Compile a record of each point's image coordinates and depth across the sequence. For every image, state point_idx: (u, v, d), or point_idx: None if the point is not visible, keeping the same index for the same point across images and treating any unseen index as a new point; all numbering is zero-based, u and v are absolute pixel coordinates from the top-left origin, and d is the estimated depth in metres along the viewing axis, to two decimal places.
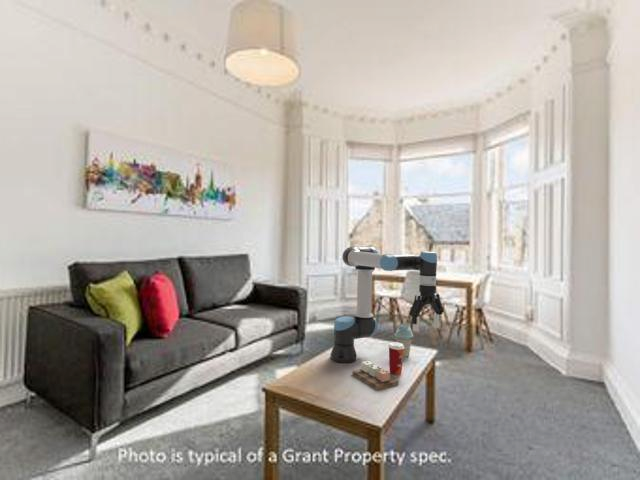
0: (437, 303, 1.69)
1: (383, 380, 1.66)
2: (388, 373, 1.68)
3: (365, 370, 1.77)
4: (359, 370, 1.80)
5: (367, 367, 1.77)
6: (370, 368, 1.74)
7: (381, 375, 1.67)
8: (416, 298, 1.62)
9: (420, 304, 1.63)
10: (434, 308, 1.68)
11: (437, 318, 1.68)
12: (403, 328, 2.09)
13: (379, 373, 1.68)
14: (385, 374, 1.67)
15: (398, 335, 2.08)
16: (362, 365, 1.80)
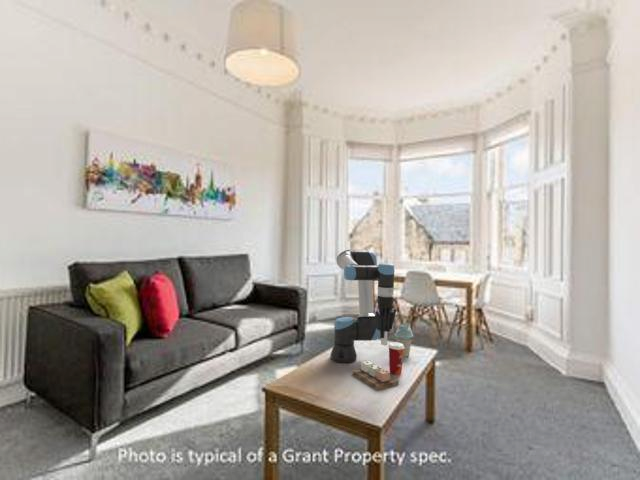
0: (390, 318, 1.70)
1: (383, 380, 1.66)
2: (388, 373, 1.68)
3: (365, 370, 1.77)
4: (359, 370, 1.80)
5: (367, 367, 1.77)
6: (370, 368, 1.74)
7: (381, 375, 1.67)
8: (375, 314, 1.65)
9: (381, 317, 1.67)
10: (385, 322, 1.69)
11: None
12: (403, 328, 2.09)
13: (379, 373, 1.68)
14: (385, 374, 1.67)
15: (398, 335, 2.08)
16: (362, 365, 1.80)
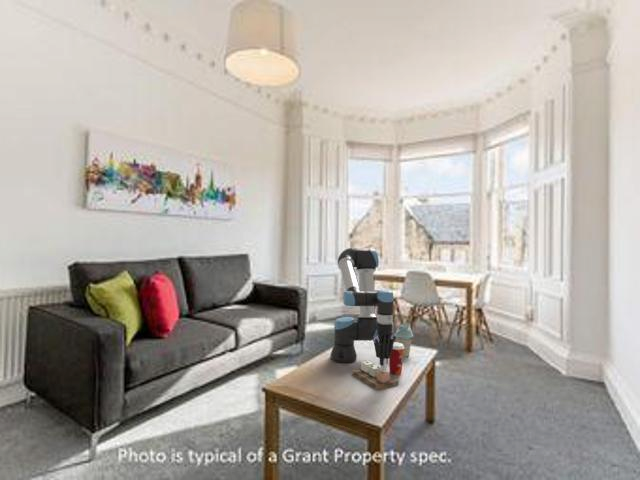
0: (389, 344, 1.70)
1: (383, 381, 1.66)
2: (388, 374, 1.68)
3: (365, 370, 1.77)
4: (359, 370, 1.80)
5: (367, 367, 1.77)
6: (370, 368, 1.74)
7: (381, 376, 1.67)
8: (374, 341, 1.66)
9: (381, 344, 1.67)
10: None
11: None
12: (403, 328, 2.09)
13: (379, 374, 1.68)
14: (385, 375, 1.67)
15: (398, 335, 2.08)
16: (362, 365, 1.80)
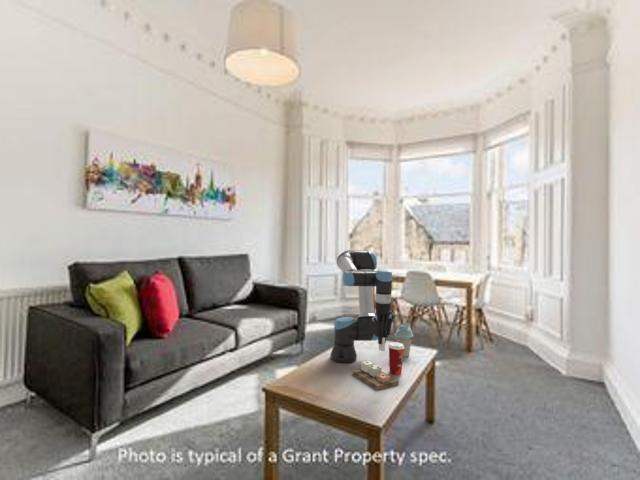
0: (388, 324, 1.72)
1: None
2: (388, 377, 1.68)
3: (365, 370, 1.77)
4: (359, 370, 1.80)
5: (367, 367, 1.77)
6: (370, 368, 1.74)
7: (381, 379, 1.67)
8: (373, 320, 1.67)
9: (379, 324, 1.69)
10: (383, 328, 1.70)
11: None
12: (403, 328, 2.09)
13: (379, 377, 1.68)
14: (385, 378, 1.67)
15: (398, 335, 2.08)
16: (362, 365, 1.80)
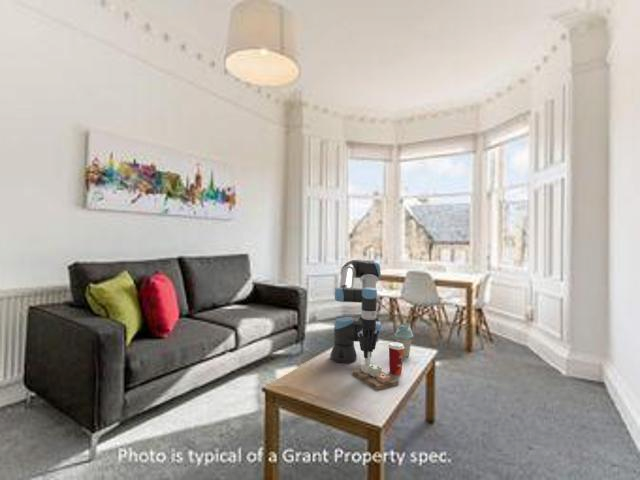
0: (373, 339, 1.81)
1: None
2: (388, 377, 1.68)
3: (365, 372, 1.77)
4: (359, 370, 1.80)
5: (367, 369, 1.77)
6: (370, 368, 1.74)
7: (381, 379, 1.67)
8: (359, 336, 1.76)
9: (365, 339, 1.78)
10: (369, 343, 1.80)
11: None
12: (403, 328, 2.09)
13: (379, 377, 1.68)
14: (385, 378, 1.67)
15: (398, 335, 2.08)
16: (362, 367, 1.80)
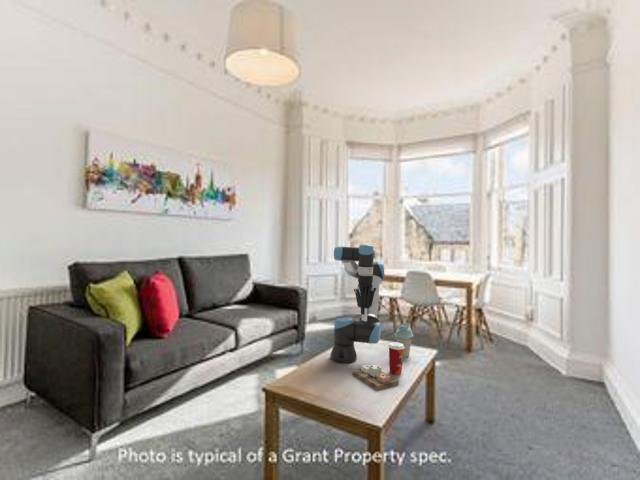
0: (370, 296, 1.81)
1: None
2: (388, 377, 1.68)
3: None
4: (359, 370, 1.80)
5: (367, 371, 1.77)
6: (370, 368, 1.74)
7: (381, 379, 1.67)
8: (355, 292, 1.76)
9: (362, 295, 1.78)
10: (365, 300, 1.80)
11: None
12: (403, 328, 2.09)
13: (379, 377, 1.68)
14: (385, 378, 1.67)
15: (398, 335, 2.08)
16: (362, 369, 1.80)
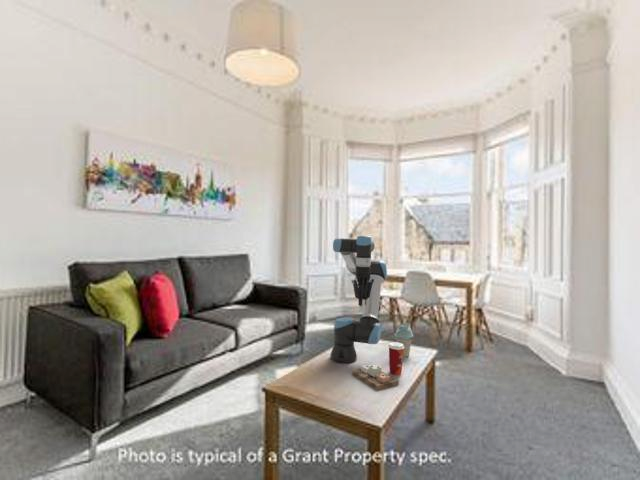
0: (368, 287, 1.80)
1: None
2: (388, 377, 1.68)
3: None
4: (359, 370, 1.80)
5: (367, 371, 1.77)
6: (370, 368, 1.74)
7: (381, 379, 1.67)
8: (353, 283, 1.76)
9: (359, 286, 1.78)
10: (363, 291, 1.79)
11: None
12: (403, 328, 2.09)
13: (379, 377, 1.68)
14: (385, 378, 1.67)
15: (398, 335, 2.08)
16: (362, 369, 1.80)
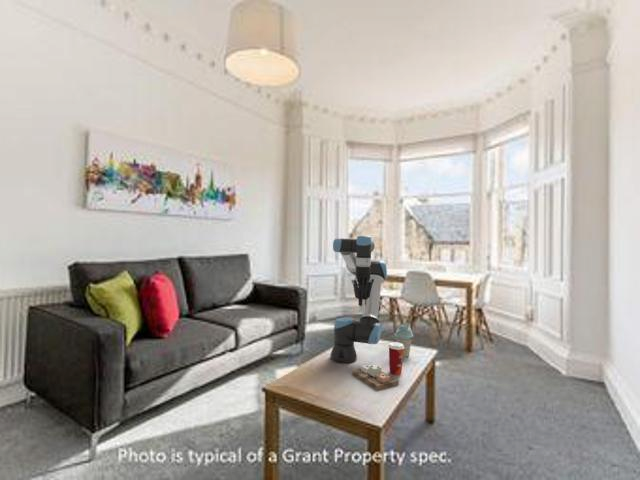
0: (368, 287, 1.80)
1: None
2: (388, 377, 1.68)
3: None
4: (359, 370, 1.80)
5: (367, 371, 1.77)
6: (370, 368, 1.74)
7: (381, 379, 1.67)
8: (353, 283, 1.76)
9: (359, 286, 1.78)
10: (363, 291, 1.79)
11: None
12: (403, 328, 2.09)
13: (379, 377, 1.68)
14: (385, 378, 1.67)
15: (398, 335, 2.08)
16: (362, 369, 1.80)
